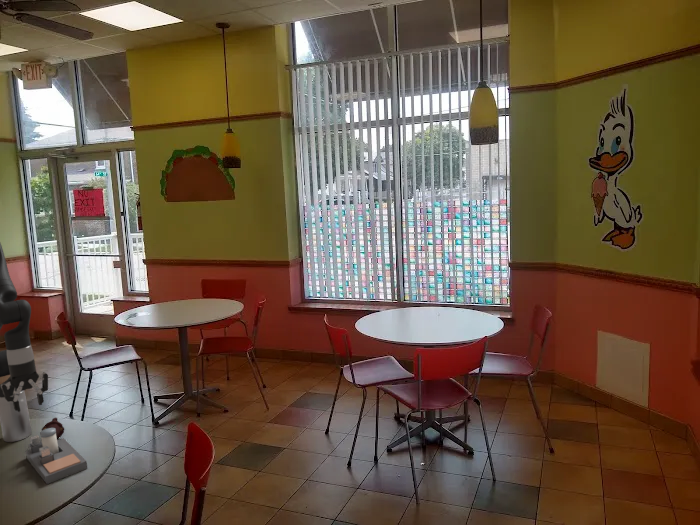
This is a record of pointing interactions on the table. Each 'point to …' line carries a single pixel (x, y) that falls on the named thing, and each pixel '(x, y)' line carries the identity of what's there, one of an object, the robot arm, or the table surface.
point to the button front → (44, 452)
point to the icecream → (56, 425)
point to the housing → (56, 461)
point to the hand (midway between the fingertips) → (29, 407)
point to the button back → (35, 440)
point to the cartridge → (50, 439)
